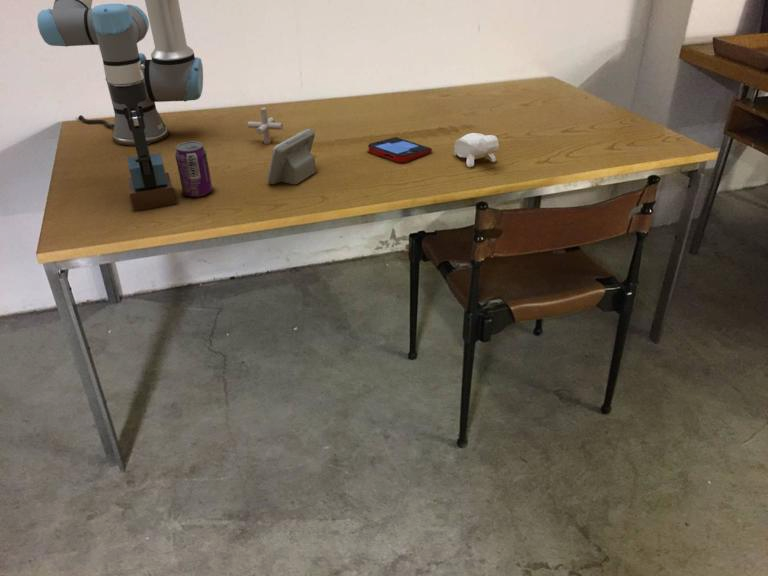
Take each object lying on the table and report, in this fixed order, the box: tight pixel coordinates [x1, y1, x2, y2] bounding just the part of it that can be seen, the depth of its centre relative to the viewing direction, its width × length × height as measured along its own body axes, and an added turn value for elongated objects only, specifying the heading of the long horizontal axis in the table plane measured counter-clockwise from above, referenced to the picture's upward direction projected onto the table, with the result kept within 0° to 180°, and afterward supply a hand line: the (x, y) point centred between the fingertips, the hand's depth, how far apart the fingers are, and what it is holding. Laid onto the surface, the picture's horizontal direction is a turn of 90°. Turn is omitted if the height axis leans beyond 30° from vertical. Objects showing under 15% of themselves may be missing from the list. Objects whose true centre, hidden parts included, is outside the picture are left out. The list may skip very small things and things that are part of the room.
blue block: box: [126, 152, 167, 189], centre depth 149 cm, size 8×8×5 cm
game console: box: [367, 136, 433, 163], centre depth 177 cm, size 14×13×2 cm
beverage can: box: [174, 140, 213, 198], centre depth 153 cm, size 7×7×12 cm
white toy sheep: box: [453, 132, 500, 168], centre depth 169 cm, size 9×8×15 cm
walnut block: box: [127, 171, 177, 212], centre depth 152 cm, size 10×10×4 cm
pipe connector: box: [247, 107, 284, 145], centre depth 183 cm, size 10×10×10 cm
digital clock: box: [266, 128, 317, 186], centre depth 161 cm, size 16×9×11 cm, turn 140°
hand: (149, 179), depth 151 cm, fingers closed on blue block, 7 cm apart
